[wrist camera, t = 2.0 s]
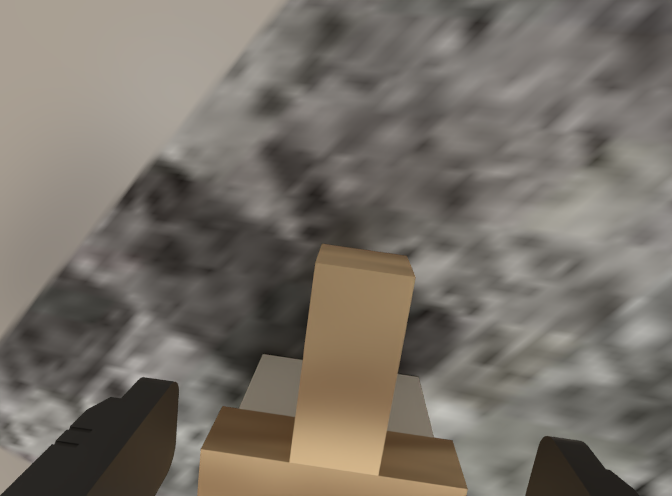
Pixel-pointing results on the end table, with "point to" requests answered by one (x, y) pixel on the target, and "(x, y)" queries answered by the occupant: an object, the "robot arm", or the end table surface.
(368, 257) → the oak link
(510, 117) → the end table surface
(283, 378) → the ring stand
